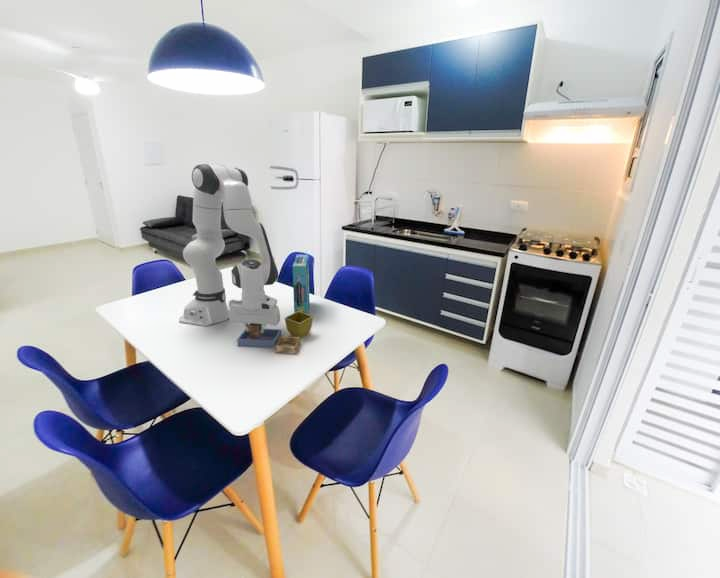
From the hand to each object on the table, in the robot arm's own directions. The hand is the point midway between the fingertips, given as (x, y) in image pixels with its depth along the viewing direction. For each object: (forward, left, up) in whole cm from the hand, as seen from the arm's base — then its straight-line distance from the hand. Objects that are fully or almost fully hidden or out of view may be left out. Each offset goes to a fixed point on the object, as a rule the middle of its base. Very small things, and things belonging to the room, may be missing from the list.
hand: (255, 332), depth 136 cm
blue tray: (+1, +1, -5) cm, 5 cm away
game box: (+12, +34, -5) cm, 36 cm away
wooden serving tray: (+14, -4, -5) cm, 16 cm away
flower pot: (+16, +8, -5) cm, 19 cm away
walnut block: (0, 0, -2) cm, 2 cm away
